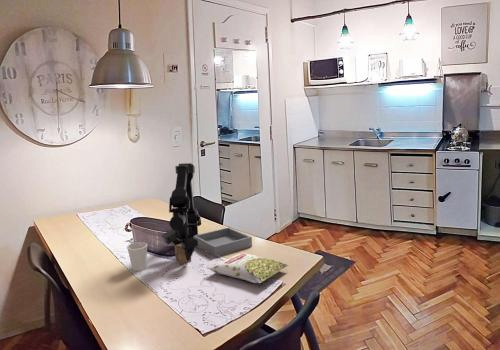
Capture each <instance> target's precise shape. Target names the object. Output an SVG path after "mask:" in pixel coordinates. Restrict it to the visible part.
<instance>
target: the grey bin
mask: <svg viewBox="0 0 500 350" xmlns="http://www.w3.org/2000/svg"><path fill="white" fill-rule="evenodd" d="M193 238H195V239H196V240H198V246H197V248H199V249H201V250H202V249H203V250H202V251H204V252H206V253H208V254H209V253H210V254H209V255H211V254H212V256H213V257H220V256H222V255H226V254H230V253H233V252H237V251H241V250H244V249H248V248H250V247H251V248H252V247H253V239H252V236H250V235H248V234H246V233H243V232H242V231H239V230H236V229H234V228H232V227H229V226H228V227H224V228H219V229H216V230H212V231H207V232H203V233H198V235H195V236H193Z"/></svg>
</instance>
